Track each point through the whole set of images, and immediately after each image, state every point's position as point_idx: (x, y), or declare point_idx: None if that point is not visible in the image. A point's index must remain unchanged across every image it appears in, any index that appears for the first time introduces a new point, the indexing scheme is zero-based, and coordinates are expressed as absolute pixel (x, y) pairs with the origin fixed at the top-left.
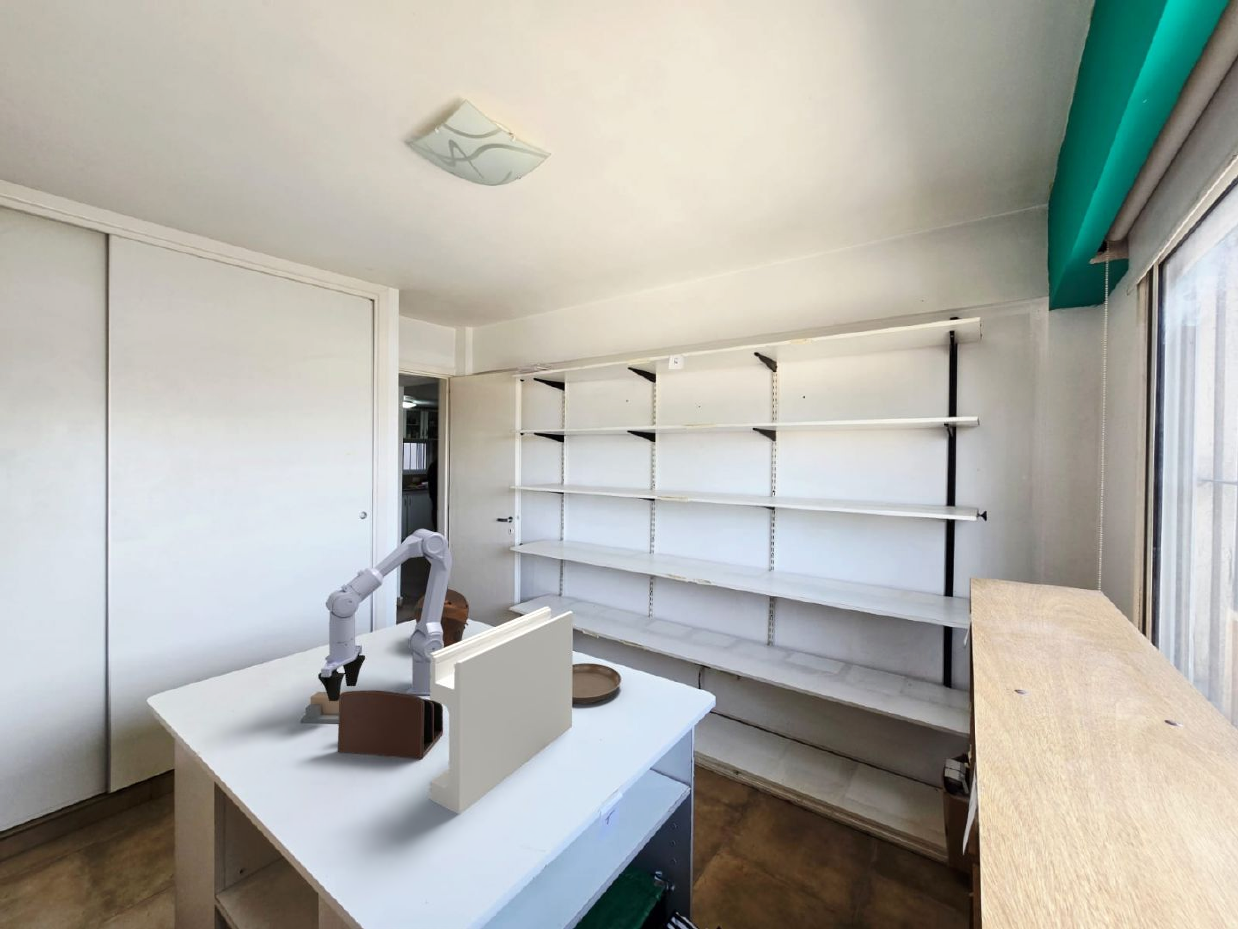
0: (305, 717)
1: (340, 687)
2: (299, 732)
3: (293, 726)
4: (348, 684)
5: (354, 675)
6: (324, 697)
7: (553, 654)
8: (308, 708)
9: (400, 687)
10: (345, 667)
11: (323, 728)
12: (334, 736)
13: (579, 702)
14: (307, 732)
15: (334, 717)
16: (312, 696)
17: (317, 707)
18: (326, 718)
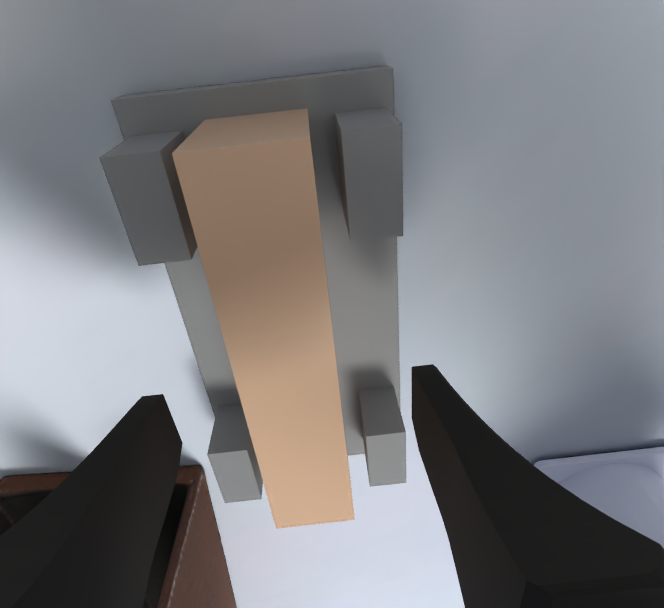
0: (136, 130)
1: (150, 560)
2: (23, 190)
3: (57, 77)
4: (416, 389)
5: (440, 498)
6: (213, 292)
7: None
8: (111, 185)
9: (630, 398)
10: (477, 515)
11: (127, 299)
12: (90, 396)
13: None
14: (49, 241)
15: (205, 325)
16: (192, 164)
17: (144, 259)
18: (178, 289)
